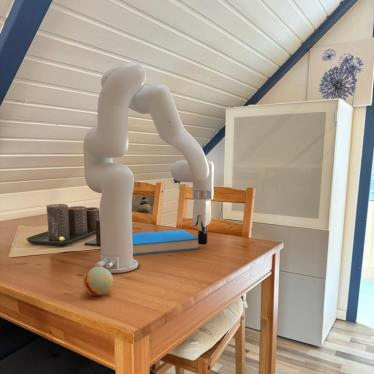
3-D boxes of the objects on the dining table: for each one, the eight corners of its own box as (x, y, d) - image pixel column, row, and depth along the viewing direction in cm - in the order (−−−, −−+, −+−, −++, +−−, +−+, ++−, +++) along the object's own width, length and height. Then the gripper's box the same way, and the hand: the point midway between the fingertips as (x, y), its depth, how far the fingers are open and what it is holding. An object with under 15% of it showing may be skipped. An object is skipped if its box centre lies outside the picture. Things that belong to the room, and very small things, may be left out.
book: (199, 238, 128) (131, 243, 119) (198, 249, 129) (132, 255, 120) (182, 229, 144) (122, 233, 135) (182, 239, 145) (122, 244, 136)
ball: (118, 294, 86) (118, 267, 85) (93, 303, 81) (92, 274, 80) (103, 287, 91) (102, 261, 89) (78, 294, 86) (77, 267, 85)
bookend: (105, 246, 132) (104, 220, 130) (84, 244, 134) (83, 219, 132) (122, 238, 145) (122, 214, 143) (103, 237, 147) (102, 213, 146)
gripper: (198, 192, 135) (198, 238, 138) (187, 197, 121) (187, 248, 124) (217, 193, 133) (216, 240, 136) (208, 197, 119) (207, 249, 122)
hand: (202, 243), depth 130 cm, fingers closed
